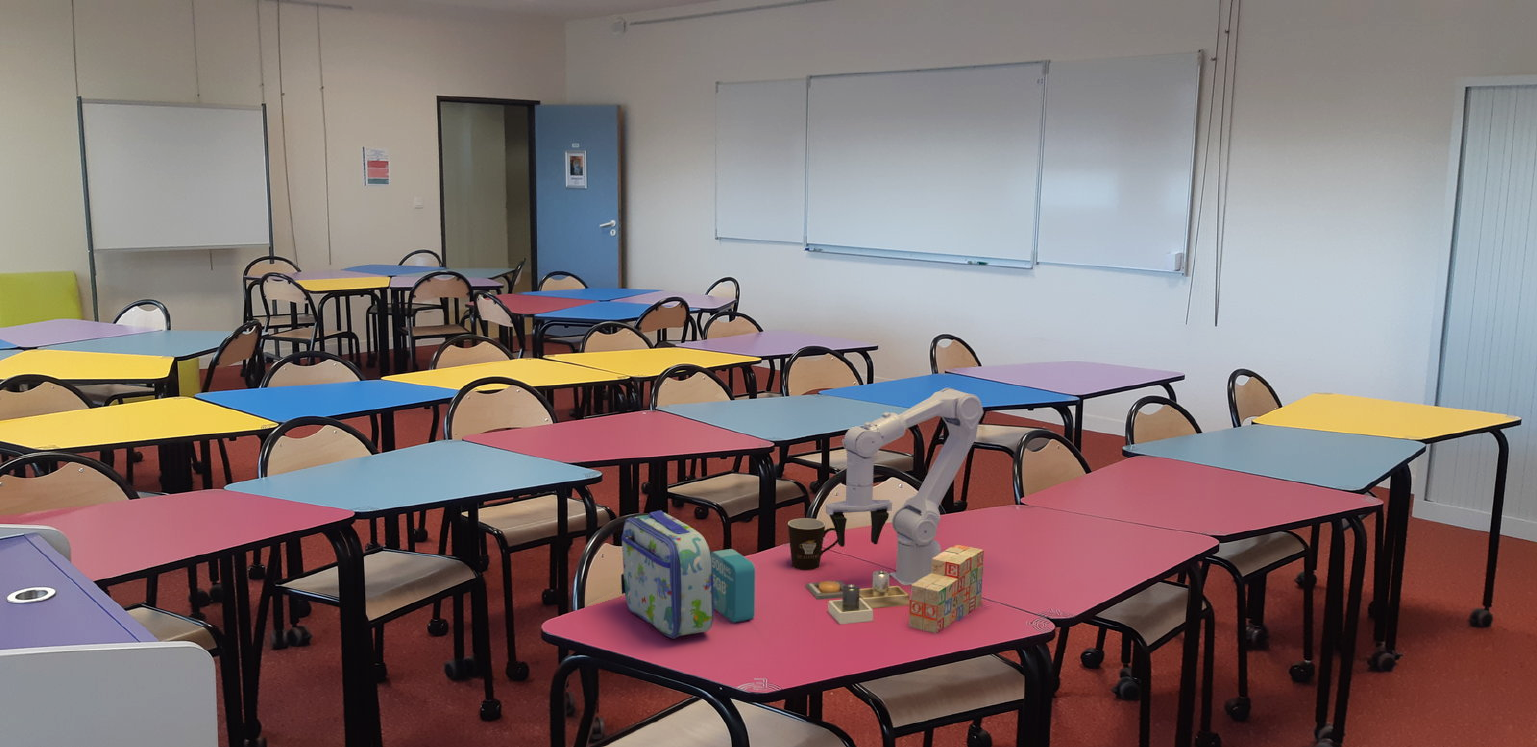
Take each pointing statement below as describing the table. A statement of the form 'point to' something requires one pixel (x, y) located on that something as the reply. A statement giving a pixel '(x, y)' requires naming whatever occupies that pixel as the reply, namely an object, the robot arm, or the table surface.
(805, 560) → the coffee mug
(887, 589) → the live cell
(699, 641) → the table surface
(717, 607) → the data package
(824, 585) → the button
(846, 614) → the white square tray
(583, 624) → the table surface
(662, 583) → the lunch box
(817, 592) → the grey square frame
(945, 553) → the stack of blocks
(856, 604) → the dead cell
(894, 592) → the trough
